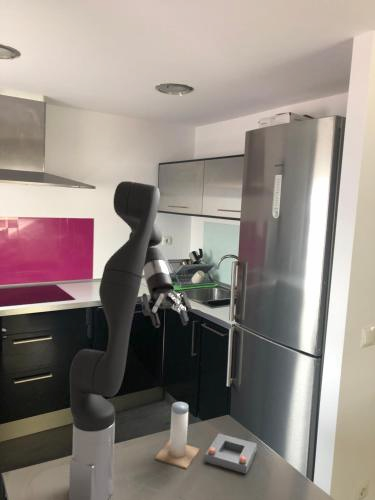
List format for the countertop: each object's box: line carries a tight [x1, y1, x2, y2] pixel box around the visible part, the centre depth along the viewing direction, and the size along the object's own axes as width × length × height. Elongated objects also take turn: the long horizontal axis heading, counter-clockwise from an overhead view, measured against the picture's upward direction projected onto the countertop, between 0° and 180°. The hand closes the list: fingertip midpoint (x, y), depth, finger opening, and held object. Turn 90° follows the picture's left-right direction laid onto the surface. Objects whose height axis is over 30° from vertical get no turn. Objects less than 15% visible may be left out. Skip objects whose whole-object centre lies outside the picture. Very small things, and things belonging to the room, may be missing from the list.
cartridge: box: [169, 401, 189, 458], centre depth 107 cm, size 4×4×13 cm
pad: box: [154, 440, 201, 470], centre depth 108 cm, size 9×9×1 cm
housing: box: [204, 433, 258, 475], centre depth 108 cm, size 11×11×4 cm
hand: (172, 325), depth 115 cm, fingers open, 8 cm apart
